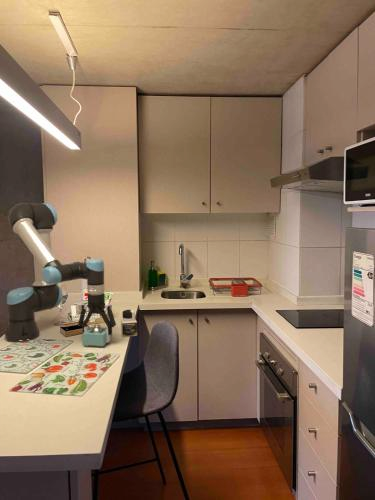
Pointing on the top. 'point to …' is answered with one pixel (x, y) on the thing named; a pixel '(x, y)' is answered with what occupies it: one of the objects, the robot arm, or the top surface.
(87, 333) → the collar
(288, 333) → the top surface
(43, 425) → the top surface
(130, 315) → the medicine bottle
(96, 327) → the post
